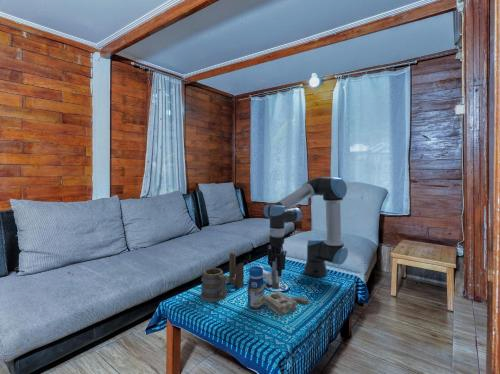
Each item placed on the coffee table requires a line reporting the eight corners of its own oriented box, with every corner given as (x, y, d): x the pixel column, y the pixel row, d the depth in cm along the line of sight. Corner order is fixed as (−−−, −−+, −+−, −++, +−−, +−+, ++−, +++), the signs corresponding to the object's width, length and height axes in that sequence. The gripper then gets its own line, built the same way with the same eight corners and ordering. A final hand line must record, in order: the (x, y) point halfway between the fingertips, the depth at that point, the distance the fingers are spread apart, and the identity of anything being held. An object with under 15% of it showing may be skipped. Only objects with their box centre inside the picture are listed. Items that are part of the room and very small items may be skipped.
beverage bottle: (254, 301, 142) (254, 264, 141) (267, 307, 137) (267, 268, 136) (243, 308, 136) (244, 268, 134) (256, 314, 130) (257, 273, 129)
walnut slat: (308, 302, 144) (308, 298, 143) (307, 304, 141) (307, 301, 141) (291, 299, 146) (291, 296, 146) (290, 302, 143) (290, 298, 143)
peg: (276, 285, 143) (276, 259, 142) (280, 288, 140) (281, 261, 139) (270, 287, 141) (271, 260, 140) (274, 289, 138) (275, 262, 137)
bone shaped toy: (252, 280, 172) (251, 267, 171) (262, 275, 177) (261, 263, 176) (269, 288, 161) (268, 275, 159) (279, 282, 166) (278, 270, 165)
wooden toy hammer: (238, 287, 159) (239, 257, 157) (227, 282, 167) (227, 253, 165) (243, 286, 161) (244, 256, 160) (232, 280, 169) (232, 252, 168)
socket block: (278, 297, 147) (279, 291, 147) (296, 308, 136) (296, 301, 136) (262, 302, 142) (262, 296, 141) (279, 314, 130) (279, 307, 130)
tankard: (196, 295, 149) (196, 268, 148) (216, 289, 157) (216, 263, 156) (216, 310, 133) (216, 280, 132) (237, 302, 141) (237, 274, 140)
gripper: (261, 233, 144) (260, 276, 145) (281, 240, 130) (280, 288, 131) (272, 231, 148) (271, 273, 149) (293, 238, 134) (292, 284, 135)
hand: (275, 280), depth 140 cm, fingers closed on peg, 3 cm apart
